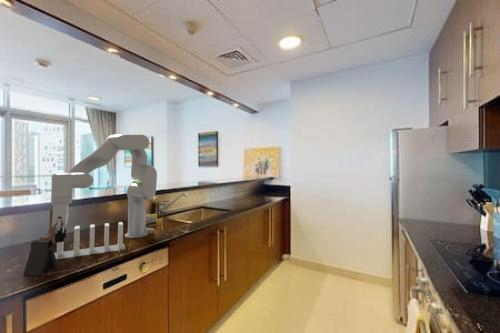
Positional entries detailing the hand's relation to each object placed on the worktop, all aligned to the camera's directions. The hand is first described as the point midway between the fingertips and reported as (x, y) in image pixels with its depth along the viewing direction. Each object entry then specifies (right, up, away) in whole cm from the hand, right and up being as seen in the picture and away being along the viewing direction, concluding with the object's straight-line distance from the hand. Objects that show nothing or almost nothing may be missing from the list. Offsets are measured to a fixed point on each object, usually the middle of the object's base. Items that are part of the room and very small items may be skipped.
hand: (60, 239), depth 109 cm
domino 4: (+15, -7, +10) cm, 19 cm away
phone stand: (+5, -8, -16) cm, 18 cm away
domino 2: (+5, -7, +3) cm, 9 cm away
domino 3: (+10, -7, +6) cm, 14 cm away
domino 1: (0, -6, 0) cm, 6 cm away
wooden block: (-18, -8, +17) cm, 26 cm away
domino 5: (+20, -8, +13) cm, 25 cm away
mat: (+9, -8, +6) cm, 13 cm away
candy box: (+14, -9, +56) cm, 59 cm away
